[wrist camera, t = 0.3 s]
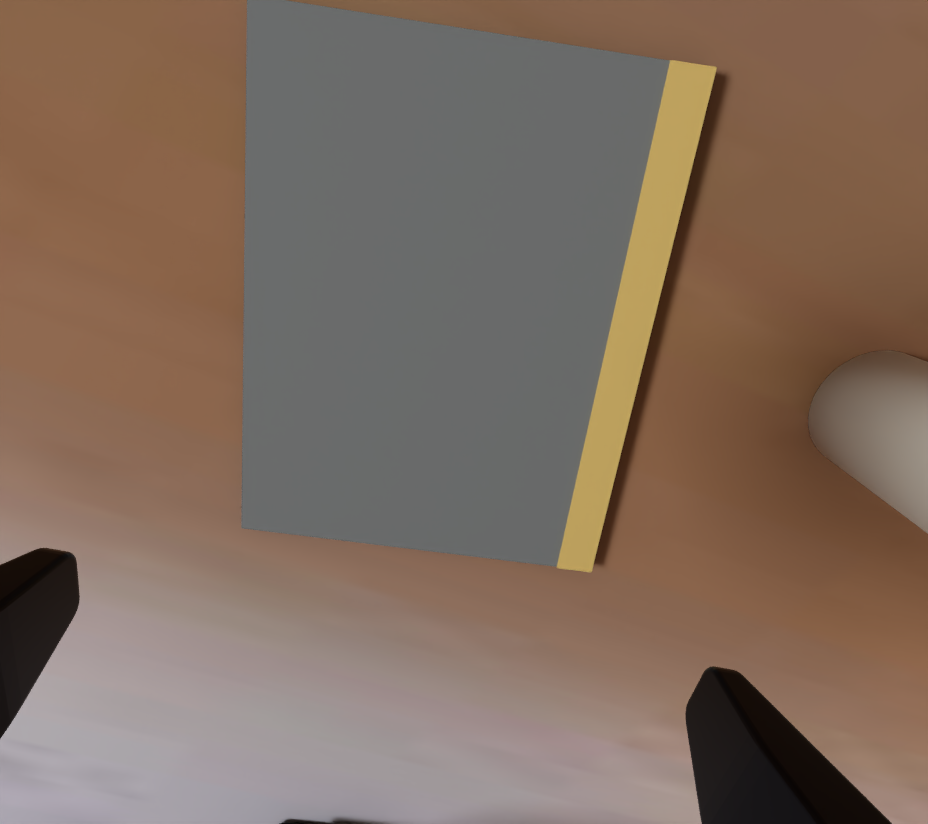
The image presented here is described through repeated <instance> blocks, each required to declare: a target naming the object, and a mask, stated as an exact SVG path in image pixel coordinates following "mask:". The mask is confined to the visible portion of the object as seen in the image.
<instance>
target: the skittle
mask: <svg viewBox="0 0 928 824" xmlns="http://www.w3.org/2000/svg"><path fill="white" fill-rule="evenodd" d="M808 428H809V433H810V436H811V439H812V441H813V443H814V445H815V447H816V448H817V449H818V451H819V452H820V453H821V454H822V455H824V456H825V457H826V458H828V459H829V460H830V461H832V462H833V463H834V464H836V465H837V466H838V467H840V468H841V469H842V470H844V471H845V472H846V473H848V474H849V475H850V476H852V477H853V478H854V479H856V480H857V481H858V482H860V483H861V484H862V485H864V486H865V487H866V488H868V489H869V490H870V491H872V492H873V493H874V494H876V495H877V496H878V497H880V498H881V499H882V500H884V501H885V502H886V503H888V504H889V505H890V506H892V507H893V508H894V509H896V510H897V511H898V512H900V513H901V514H902V515H904V516H905V517H906V518H908V519H909V520H910V521H912V522H913V523H914V524H916V525H917V526H918V527H920V528H921V529H922V530H924V531H925V532H926V533H928V362H927V361H924V360H922V359H919V358H916V357H914V356H911V355H908V354H905V353H903V352H898V351H889V350H883V351H874V352H869V353H866V354H862V355H859V356H857V357H855V358H852V359H851V360H849V361H847V362H845V363H844V364H842V365H841V366H839V367H838V368H837V369H835V370H834V371H833V372H832V373H831V374H830V375H829V376H828V377H827V378H826V379H825V380H824V381H823V383H822V384H821V385H820V387H819V388H818V390H817V392H816V394H815V395H814V398H813V400H812V402H811V406H810V409H809V415H808Z"/></svg>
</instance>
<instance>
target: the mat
mask: <svg viewBox="0 0 928 824" xmlns="http://www.w3.org/2000/svg"><path fill="white" fill-rule="evenodd" d="M716 69H717V67H712V66H706V65H700V64H693V63H687V62H681V61H674V60H670V61H669V60H662V59H656V58H650V57H643V56H637V55H631V54H624V53H618V52H611V51H605V50H599V49H592V48H586V47H579V46H573V45H567V44H560V43H554V42H548V41H541V40H535V39H528V38H522V37H516V36H509V35H503V34H497V33H490V32H484V31H477V30H471V29H465V28H458V27H452V26H445V25H439V24H433V23H426V22H420V21H414V20H407V19H401V18H394V17H388V16H382V15H375V14H369V13H362V12H356V11H350V10H343V9H337V8H331V7H324V6H318V5H311V4H305V3H299V2H292V1H286V0H247V63H246V157H245V250H244V343H243V436H242V528H244V529H253V530H261V531H269V532H277V533H285V534H294V535H302V536H310V537H318V538H326V539H335V540H343V541H351V542H359V543H367V544H376V545H384V546H392V547H400V548H408V549H417V550H425V551H433V552H441V553H449V554H458V555H466V556H474V557H482V558H490V559H499V560H507V561H515V562H523V563H531V564H540V565H548V566H556V567H557V568H561V569H569V570H577V571H585V572H592V568H593V564H594V560H595V556H596V552H597V548H598V544H599V540H600V536H601V532H602V528H603V524H604V520H605V516H606V512H607V508H608V504H609V500H610V496H611V492H612V488H613V484H614V480H615V476H616V472H617V468H618V464H619V459H620V455H621V451H622V447H623V443H624V439H625V435H626V431H627V427H628V423H629V419H630V415H631V411H632V407H633V403H634V399H635V395H636V391H637V387H638V383H639V379H640V375H641V371H642V367H643V363H644V359H645V355H646V351H647V347H648V343H649V339H650V335H651V331H652V327H653V323H654V319H655V315H656V311H657V307H658V303H659V299H660V294H661V290H662V286H663V282H664V278H665V274H666V270H667V266H668V262H669V258H670V254H671V250H672V246H673V242H674V238H675V234H676V230H677V226H678V222H679V218H680V214H681V210H682V206H683V202H684V198H685V194H686V190H687V186H688V182H689V178H690V174H691V170H692V166H693V162H694V158H695V154H696V150H697V146H698V142H699V138H700V133H701V129H702V125H703V121H704V117H705V113H706V109H707V105H708V101H709V97H710V93H711V89H712V85H713V81H714V77H715V73H716Z"/></svg>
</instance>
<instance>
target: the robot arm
mask: <svg viewBox="0 0 928 824" xmlns="http://www.w3.org/2000/svg"><path fill="white" fill-rule="evenodd" d="M79 597H80V596H79V584H78V572H77V562H76V558H75V556H74V555H73V554H72V553H70V552H66V551H61V550H55V549H49V548H39V549H36V550H33V551H31V552H29V553H27V554H24V555H22V556H20V557H17V558H15V559H13V560H11V561H8V562H6V563H4V564H1V565H0V738H1V737H2V735H3V734H4V733H5V731H6V730H7V728H8V727H9V725H10V724H11V722H12V721H13V719H14V718H15V716H16V714H17V713H18V711H19V710H20V708H21V706H22V705H23V703H24V701H25V700H26V698H27V696H28V694H29V693H30V691H31V689H32V688H33V686H34V684H35V682H36V681H37V679H38V677H39V676H40V674H41V672H42V671H43V669H44V667H45V665H46V664H47V662H48V660H49V659H50V657H51V655H52V653H53V652H54V650H55V648H56V647H57V645H58V643H59V641H60V640H61V638H62V636H63V635H64V633H65V631H66V630H67V628H68V626H69V624H70V623H71V621H72V619H73V618H74V616H75V614H76V611H77V609H78V605H79ZM686 726H687V733H688V739H689V745H690V752H691V758H692V765H693V771H694V778H695V784H696V791H697V797H698V804H699V810H700V816H701V822H702V824H892V823H891V822H890V821H889V820H888V819H887V818H886V817H885V816H884V815H883V814H882V813H881V812H880V811H879V810H878V809H877V808H876V807H875V806H874V805H873V804H872V803H871V802H870V801H869V800H868V799H867V798H866V797H865V796H864V795H863V794H862V793H861V792H860V791H859V790H858V789H857V788H856V787H855V786H854V785H853V784H852V783H851V782H850V781H849V780H848V779H847V778H845V777H844V776H843V775H842V774H841V773H840V772H839V771H838V770H837V769H836V768H835V767H834V766H833V765H832V764H831V763H830V762H829V761H828V760H827V759H826V758H825V757H824V756H823V755H822V754H821V753H820V752H819V751H818V750H817V749H816V748H815V747H814V746H813V745H812V744H811V743H810V742H809V741H808V740H807V739H806V738H805V737H804V736H803V735H802V734H801V733H800V732H799V731H798V730H797V729H796V728H795V727H794V726H793V725H792V724H791V723H790V722H789V721H788V720H787V719H786V718H785V717H784V716H783V715H782V714H781V713H780V712H779V711H778V710H777V709H776V708H775V707H774V706H773V705H772V704H771V703H770V702H769V701H768V700H767V699H766V698H765V697H764V696H763V695H762V694H761V693H760V692H759V691H758V690H757V689H756V688H755V687H754V686H753V685H752V684H751V683H750V682H749V681H748V680H747V679H746V678H745V677H744V676H743V675H742V674H740V673H739V672H737V671H735V670H731V669H725V668H720V667H709V668H707V669H706V670H705V671H704V673H703V675H702V677H701V679H700V680H699V682H698V684H697V686H696V688H695V690H694V692H693V694H692V696H691V697H690V699H689V701H688V704H687V707H686ZM281 824H294V823H281Z"/></svg>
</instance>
